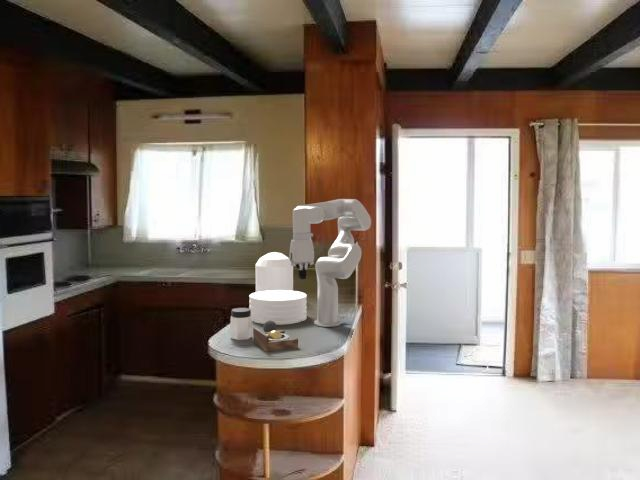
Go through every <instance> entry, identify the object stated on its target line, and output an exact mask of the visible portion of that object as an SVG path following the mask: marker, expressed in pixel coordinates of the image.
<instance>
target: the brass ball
mask: <svg viewBox="0 0 640 480" xmlns="http://www.w3.org/2000/svg"><path fill="white" fill-rule="evenodd" d="M279 331H280V330H273V331H271V332H269V334H268V336H269V339H282V335H281V333H280V332H279Z"/></svg>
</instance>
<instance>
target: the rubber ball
mask: <svg viewBox="0 0 640 480" xmlns="http://www.w3.org/2000/svg"><path fill="white" fill-rule="evenodd" d="M262 325H263V326H262V329H263V333H265V332H271V331H273V330H276V331H278V326H277V325H276V323H275V322H274V321H271V320H269V321H267V322H265V323H264V324H262Z"/></svg>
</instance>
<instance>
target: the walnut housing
mask: <svg viewBox="0 0 640 480" xmlns="http://www.w3.org/2000/svg"><path fill="white" fill-rule="evenodd" d="M252 331H253V332H252V337H253V341H252V342H253V343H254V344H255V345H257V346H258V347H260V348H261V349H262V350H263V351H265V352H266V351H267V352H273V350H275V351H280V350H282V349H283V350H291V349H297V348H299V338H297V337H296V338H289V339H287V340H279V341H271V342H269V336H268V335H266V334H269V332H264V331H262V330H260V329H259V328H257V327H253V328H252ZM278 331H279V332H280V333H283V334H286V331H285V330H278Z"/></svg>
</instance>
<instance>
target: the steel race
mask: <svg viewBox="0 0 640 480" xmlns="http://www.w3.org/2000/svg"><path fill="white" fill-rule="evenodd" d="M266 335H268V334H266ZM281 335H282V339H269V342H271V341H279V340H287V339H290V335H288V334H287V333H285V334H283V333H281Z"/></svg>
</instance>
